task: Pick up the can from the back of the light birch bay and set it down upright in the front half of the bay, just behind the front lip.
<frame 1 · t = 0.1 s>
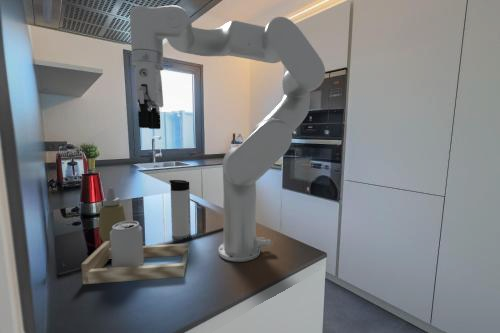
hand: (150, 128, 65), 37 cm above the counter, tool pointing down, fingers open, 9 cm apart
travel mug: (181, 236, 84), on the counter
can: (128, 268, 64), resting in bay
squeeze bottle: (114, 242, 79), on the counter
bay: (142, 266, 65), on the counter
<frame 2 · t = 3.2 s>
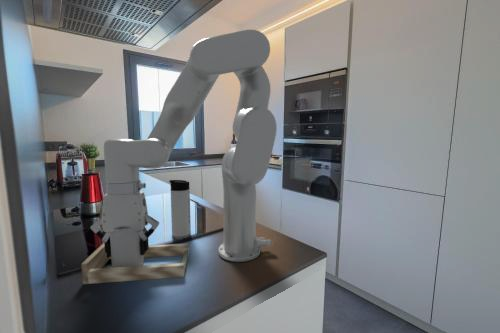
hand: (127, 253, 64), 4 cm above the counter, tool pointing down, fingers closed on can, 7 cm apart
can: (128, 268, 64), resting in bay, touching gripper
everything else where it was.
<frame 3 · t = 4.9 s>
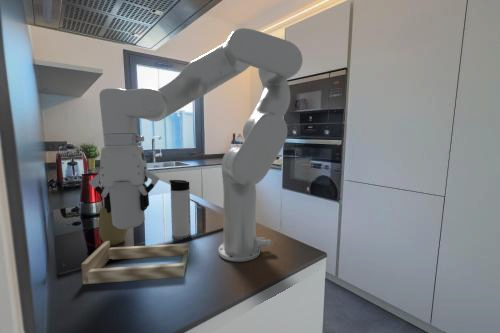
hand: (127, 209, 62), 16 cm above the counter, tool pointing down, fingers closed on can, 7 cm apart
can: (129, 225, 63), point 12 cm above the counter, touching gripper
everything else where it was.
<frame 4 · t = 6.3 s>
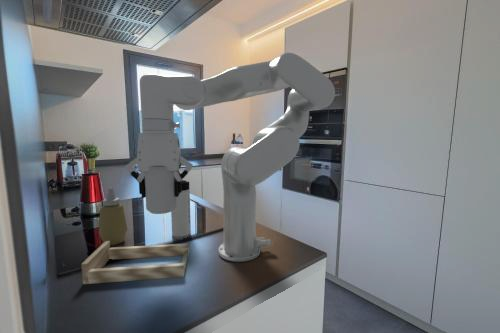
hand: (161, 195, 63), 19 cm above the counter, tool pointing down, fingers closed on can, 7 cm apart
can: (161, 211, 64), point 15 cm above the counter, touching gripper
everything else where it was.
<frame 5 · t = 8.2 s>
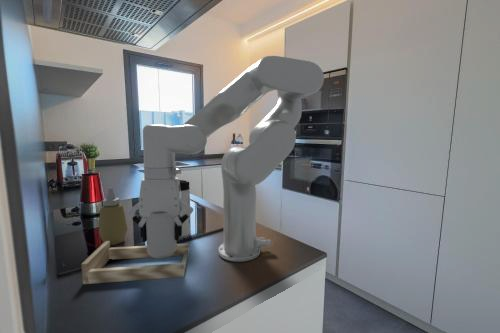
hand: (161, 238, 64), 8 cm above the counter, tool pointing down, fingers closed on can, 7 cm apart
can: (162, 253, 65), point 3 cm above the counter, touching gripper
everything else where it was.
when the fingers open (5 cm above the counter, at t = 9.8 s): can drops 1 cm, resting in bay.
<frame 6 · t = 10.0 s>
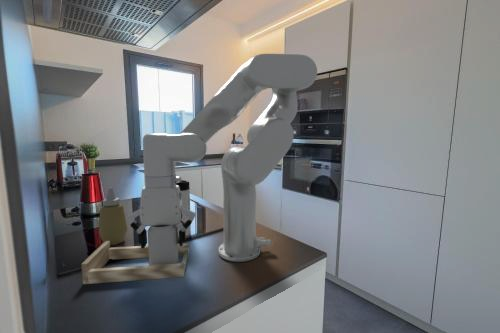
hand: (163, 244, 65), 6 cm above the counter, tool pointing down, fingers open, 9 cm apart
can: (164, 265, 66), resting in bay
everything else where it was.
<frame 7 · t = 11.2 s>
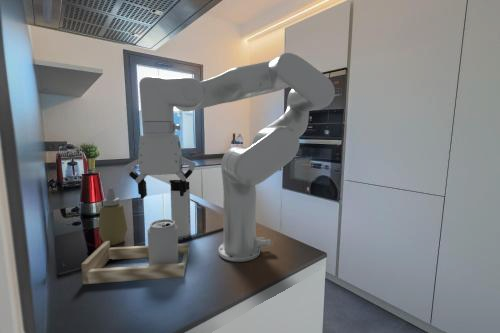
hand: (163, 196, 63), 19 cm above the counter, tool pointing down, fingers open, 9 cm apart
nothing on the counter moved.
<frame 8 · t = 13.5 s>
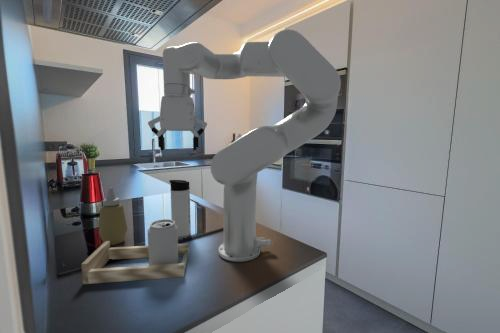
hand: (179, 150, 75), 30 cm above the counter, tool pointing down, fingers open, 9 cm apart
nothing on the counter moved.
at the end: can 0.6 cm from the target spot on the bay, point 0.0 cm above the bay's base; can tilted 0°; the gripper is holding nothing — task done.
